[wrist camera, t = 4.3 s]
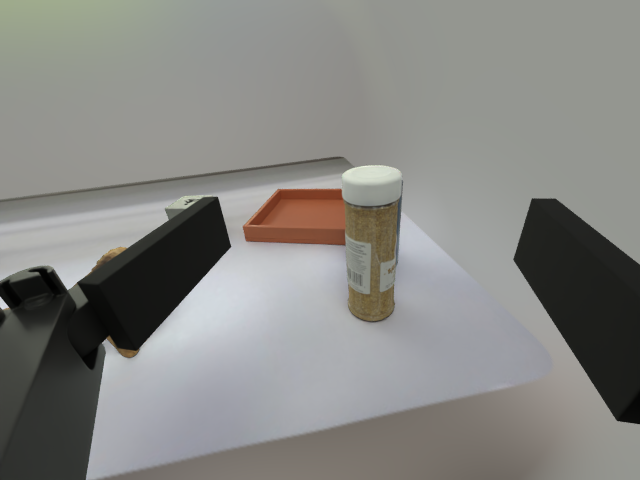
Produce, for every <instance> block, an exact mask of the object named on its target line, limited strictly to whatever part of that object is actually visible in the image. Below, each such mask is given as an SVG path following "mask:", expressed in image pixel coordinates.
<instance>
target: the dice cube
mask: <svg viewBox="0 0 640 480" xmlns="http://www.w3.org/2000/svg"><path fill="white" fill-rule="evenodd" d="M203 197H213V196H184V197H183V198H181V199H179V200H178V201H176V202H174V203H173V204H171V205H170V206H168V207H166V208H165V211H166V213H167V216H168V219H169V220H170V219H172V218H173V217H174V216H176V215H177V214H179V213H180V212H182V211H183V210H185V209H186V208H188V207H189V206H191V205H192V204H194V203H195V202H197V201H198V200H200V199H201V198H203Z"/></svg>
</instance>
